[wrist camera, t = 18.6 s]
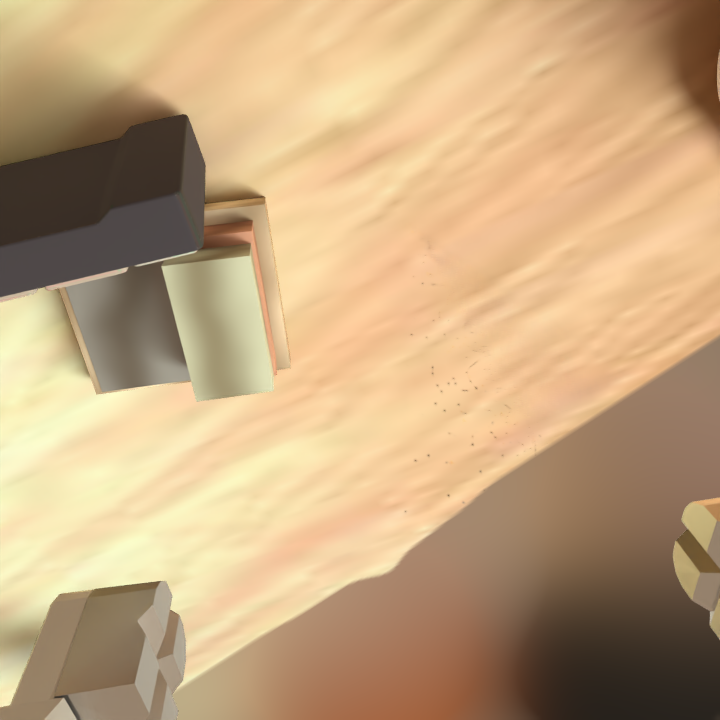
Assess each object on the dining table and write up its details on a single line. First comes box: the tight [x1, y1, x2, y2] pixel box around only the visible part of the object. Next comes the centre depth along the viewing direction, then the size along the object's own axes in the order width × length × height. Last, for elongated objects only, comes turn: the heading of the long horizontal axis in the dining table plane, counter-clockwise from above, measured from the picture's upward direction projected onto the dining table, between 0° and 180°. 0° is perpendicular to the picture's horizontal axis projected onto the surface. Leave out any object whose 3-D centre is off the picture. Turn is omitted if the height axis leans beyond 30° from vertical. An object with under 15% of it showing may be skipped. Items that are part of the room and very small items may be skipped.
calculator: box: [0, 114, 205, 302], centre depth 35 cm, size 11×4×15 cm
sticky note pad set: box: [59, 197, 291, 402], centre depth 41 cm, size 15×13×7 cm
